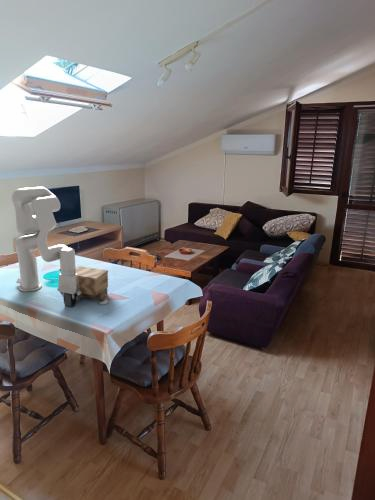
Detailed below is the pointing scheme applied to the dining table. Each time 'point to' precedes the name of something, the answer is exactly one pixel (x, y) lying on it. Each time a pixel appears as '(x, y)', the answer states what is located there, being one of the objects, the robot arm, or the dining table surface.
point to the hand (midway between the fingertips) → (70, 303)
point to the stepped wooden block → (92, 282)
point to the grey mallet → (68, 299)
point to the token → (103, 302)
